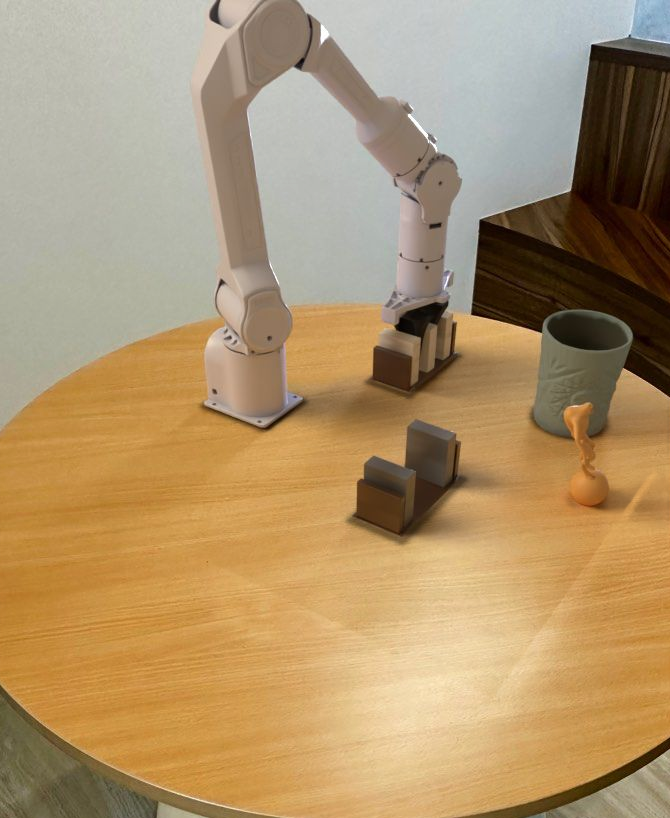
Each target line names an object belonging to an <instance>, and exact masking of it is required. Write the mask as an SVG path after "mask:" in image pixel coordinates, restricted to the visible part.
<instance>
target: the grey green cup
mask: <svg viewBox="0 0 670 818" xmlns="http://www.w3.org/2000/svg"><path fill="white" fill-rule="evenodd" d="M541 330H542V331H541V340H540V355H539V363H538V372H537V382H536V392H535V396H534V397H535V398H534V404H533V418H534V421H535V423H536V424H537V426H539V427H540V428H541V429H542V430H543V431H546V432H548V433H550V434H553V435H556V436H559V437H564V438H570V439H571V438H573V437H572V434H571V431H570V430H569V429H568V427H567V425H566V423H565V421H564V411H565V409H566V408H568V407H570V406H574V405H576V406H579V405H583V404H585V403H591V404H592V405H593V408H592V409H593V410H594V411H593V413H591V414H590V415H589V416H588V417H589V424H588V427H587V430H586V435H587V436H588V437H591V436H594V435H596V434H598V433H599V432H600V431H601V430H603V428H604V425H605V424H606V421H607V417H608V415H609V411H610V408H611V402H612V399H613V396H614V394H615V392H616V390H617V383H618V381H619V378H620V377H621V374H622V372H623V369H624V366H625V364H626V361H627V357H628V355H629V352H630V349H631V346H632V344H633V340H634V335H633V332H632V330H631V327H630V326H628V325H627V324H626V322H624V321H623V320H621V319H619V318H617V317H615V316H614V315H610V314H607V313H604V312H600V311H595V310H589V309H567V310H561V311H557V312H554V313H552V314H551V315H549V316H547V317H546V319H544V320H543V323H542V329H541ZM573 439H574V438H573Z"/></svg>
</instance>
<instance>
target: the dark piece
mask: <svg viewBox="0 0 670 818" xmlns="http://www.w3.org/2000/svg"><path fill="white" fill-rule="evenodd" d="M457 325H458V322H457V321H455V320H454V313H453V312H449V311H446V310H445V311H444V313H443V315H442V316H441V318H440V320H439V322H438V325H437V338H436V350H435V363H434V368H433V369H432V370H430V371H429V372H428V373H426V372H423V371H420V370H419V358H420V343H421V338H419V337H416V336H413V335H410V334H406V333H403V332H400V331H397V330H396V329H393V328H390V327H385V328H384V329H382V330H381V331H380V332H378V344H377V345H375V346H374V347H373V348H372V349H373V350H372V376H370V377H369V378H368V379H369V380H371V381H374V382H376V383H381V384H383V385H386V386H388V387H392V388H394V389H398V390H401V391H404V392H407V393H410V392H411V391H413V390H414V389H419V388H420V387H422V386H423V385H424V384H425V383H426V382H429V380H430V379H431V378H432V377H434V376H435V375H436V374H437V373H439V372H440V371H441V370H442V369H444V368H445V367H446V366H447V365H448V364H450V363H451V362H452V361H453V360H455V359H456V358H457V357H458V352H456V351H455V347H456V339H457V338H456V337H457V336H456V335H457Z"/></svg>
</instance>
